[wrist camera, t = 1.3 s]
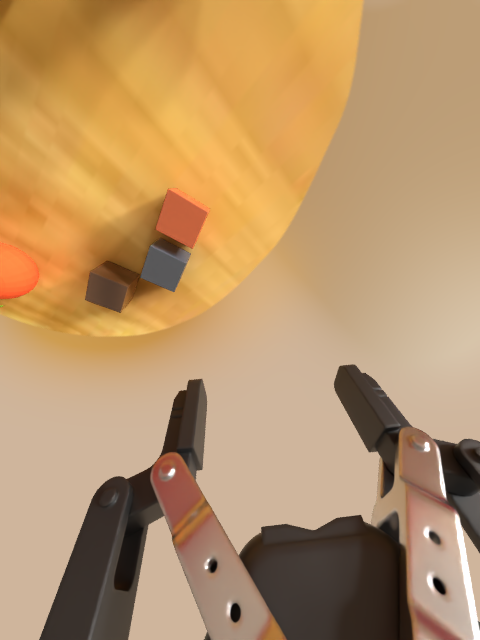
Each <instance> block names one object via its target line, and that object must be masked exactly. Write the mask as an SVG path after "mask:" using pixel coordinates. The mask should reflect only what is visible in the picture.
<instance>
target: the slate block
mask: <svg viewBox="0 0 480 640" xmlns="http://www.w3.org/2000/svg"><path fill="white" fill-rule="evenodd" d="M190 255H191V254H190V253H189V252H187V251H185V250H183V249H181V248H179V247H177V246H175V245H173V244H171V243H169V242H167V241H165V240H163V239H161V238H159V239H158V240H157V241H156V242H154V243H153V244H152V245H151V246H150V248H149V251H148V254H147V257H146V260H145V263H144V267H143V270H142V273H141V276H140V278H142V279H145V280H147V281H149V282H152V283H154V284H156V285H158V286H161V287H163V288H165V289H168V290H170V291H172V292H175V289H176V287H177V285H178V283H179V281H180V279H181V276H182V274H183V272H184V269H185V267H186V264H187V262H188V260H189V257H190Z"/></svg>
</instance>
